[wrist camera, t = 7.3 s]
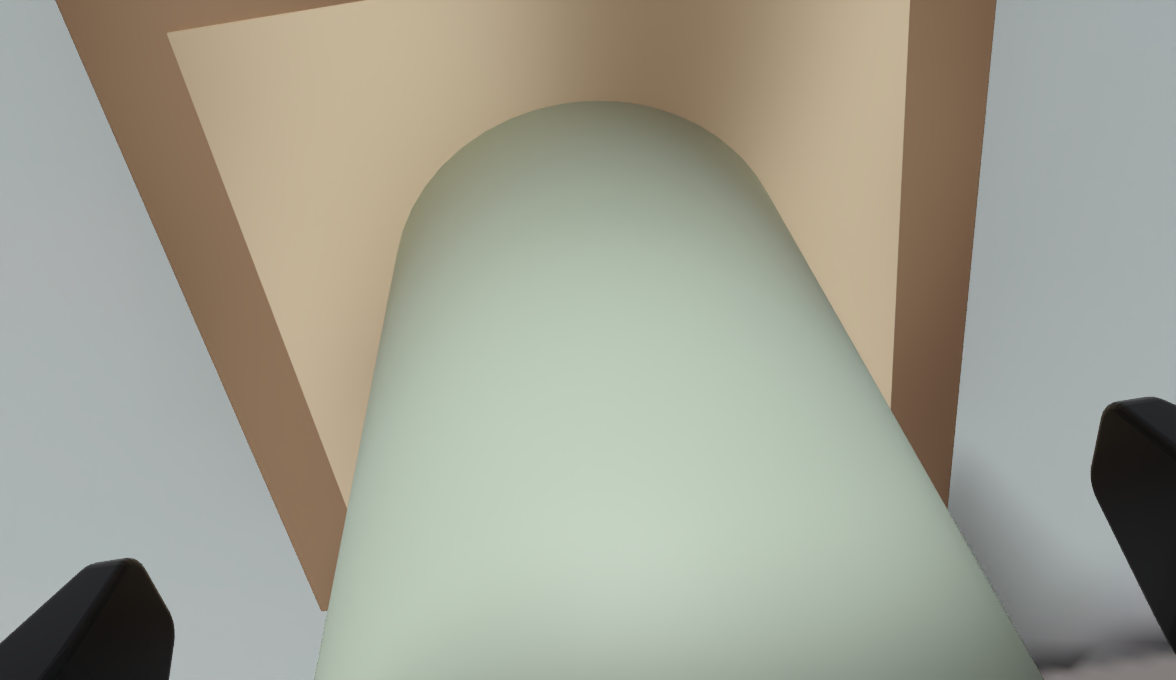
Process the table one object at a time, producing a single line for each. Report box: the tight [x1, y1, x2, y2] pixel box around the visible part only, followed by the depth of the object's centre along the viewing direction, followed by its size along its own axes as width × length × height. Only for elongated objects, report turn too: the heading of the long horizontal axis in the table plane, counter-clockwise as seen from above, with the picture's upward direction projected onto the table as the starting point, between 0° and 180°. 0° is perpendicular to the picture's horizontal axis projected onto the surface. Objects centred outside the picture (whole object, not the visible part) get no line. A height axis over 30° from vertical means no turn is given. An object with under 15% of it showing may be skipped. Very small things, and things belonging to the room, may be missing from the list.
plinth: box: [55, 0, 996, 611], centre depth 13 cm, size 10×10×2 cm
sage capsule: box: [314, 101, 1044, 680], centre depth 9 cm, size 5×5×8 cm
